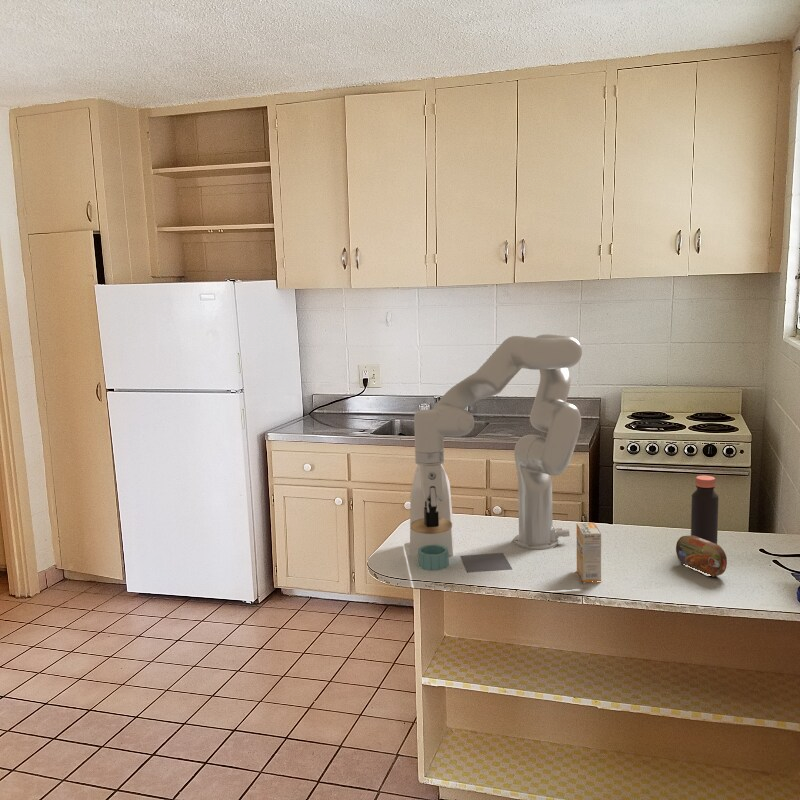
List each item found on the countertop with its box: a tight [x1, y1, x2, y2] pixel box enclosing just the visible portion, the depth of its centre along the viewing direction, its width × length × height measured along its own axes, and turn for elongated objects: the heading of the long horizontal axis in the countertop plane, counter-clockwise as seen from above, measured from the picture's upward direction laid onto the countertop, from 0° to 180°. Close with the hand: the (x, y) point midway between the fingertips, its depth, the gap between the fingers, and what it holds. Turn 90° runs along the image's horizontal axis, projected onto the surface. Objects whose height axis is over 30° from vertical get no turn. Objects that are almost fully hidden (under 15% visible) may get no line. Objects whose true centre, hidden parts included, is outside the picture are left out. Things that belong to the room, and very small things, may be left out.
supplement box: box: [576, 522, 602, 583], centre depth 192 cm, size 8×5×13 cm, turn 178°
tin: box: [675, 534, 728, 578], centre depth 193 cm, size 15×3×8 cm, turn 23°
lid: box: [411, 509, 452, 534], centre depth 202 cm, size 11×11×5 cm
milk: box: [409, 463, 455, 557], centre depth 214 cm, size 12×12×26 cm
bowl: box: [417, 545, 450, 571], centre depth 204 cm, size 8×8×4 cm
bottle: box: [690, 475, 719, 545], centre depth 207 cm, size 7×7×20 cm
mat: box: [459, 552, 513, 573], centre depth 204 cm, size 12×12×1 cm
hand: (431, 523), depth 202 cm, fingers closed on lid, 3 cm apart
